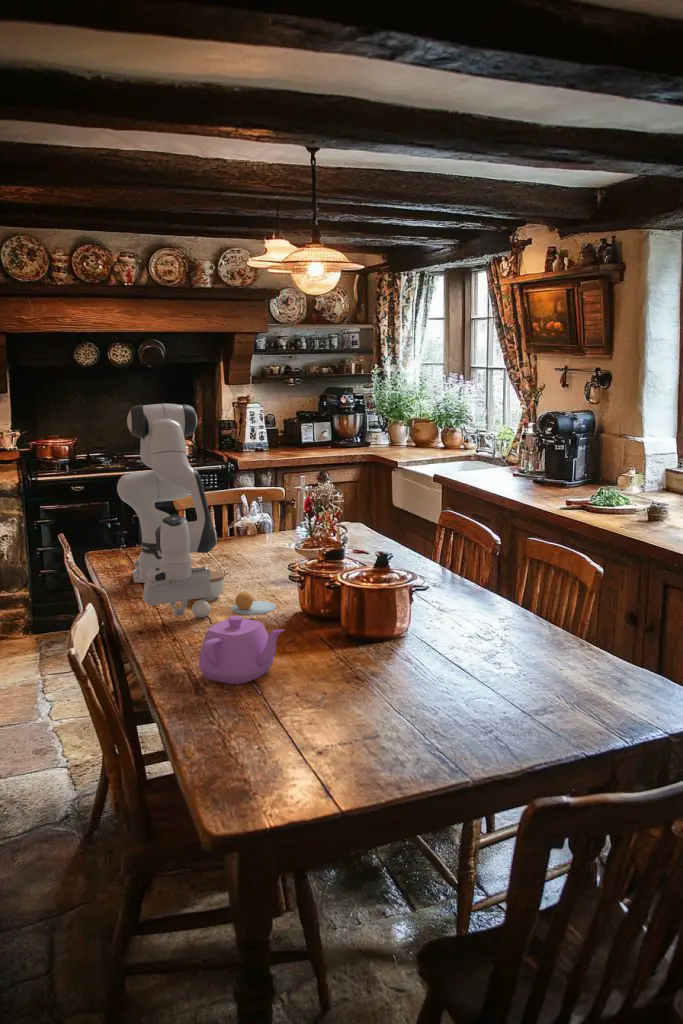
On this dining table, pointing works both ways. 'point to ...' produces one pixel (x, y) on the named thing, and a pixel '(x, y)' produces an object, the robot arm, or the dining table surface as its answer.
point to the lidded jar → (215, 585)
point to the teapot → (237, 650)
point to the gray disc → (256, 608)
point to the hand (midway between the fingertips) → (179, 614)
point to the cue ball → (201, 608)
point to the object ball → (244, 600)
